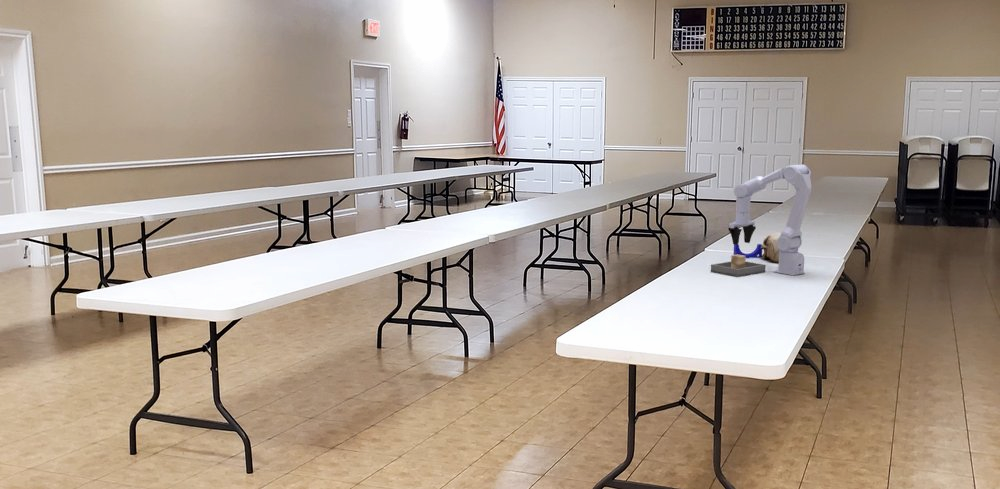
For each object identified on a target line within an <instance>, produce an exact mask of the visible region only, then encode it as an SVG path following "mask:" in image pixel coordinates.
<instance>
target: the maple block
mask: <svg viewBox="0 0 1000 489" xmlns="http://www.w3.org/2000/svg"><path fill="white" fill-rule="evenodd" d="M730 257H731V258H730V261H731V268H734V269H741V268H745V261H746V259H747V258H746V256H744V255H738V254H737V255H734V254H732V255H731V256H730Z"/></svg>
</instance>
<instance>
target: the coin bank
mask: <svg viewBox="0 0 1000 489" xmlns="http://www.w3.org/2000/svg"><path fill="white" fill-rule="evenodd" d="M780 235H781V232H772V233H770V234H769V235H767V236H766V237H765V238H764V239H763V242H762V243H761V244H762V246H761V249H762V251H763V253H762V258H761V259H762V260H770V261H772V263H776V264H779V249H778V247H777V244H776V242H777V239H778V238H779V237H780Z"/></svg>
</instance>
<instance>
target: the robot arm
mask: <svg viewBox="0 0 1000 489" xmlns="http://www.w3.org/2000/svg"><path fill="white" fill-rule="evenodd" d="M811 174H812V173H811V170H810V169H809V168H808V166H807V165H805V164H804V163H803V164H802V163H800V164H790V165H787V166H784V167H781V168H779V169H777V170H774V171H773V172H771V173H768V174H767V175H765V176H761V175H755V176H753V178H752V179H750V180H745V181H744V183H738V184H736V185H735V187H734V189H733V193H734V195H735V197H736V200H735V201H736V202H735V220H734V221H733V222H730V223H729V227H727V228H728V232H729V233H730V236H731V239H732V244H733V245H734V244H735V245H739V242H740V235H741V233H742V231H743V241H744V243H746V244H750V242H751V240H752V236H753V234H754V232H755V230H756V227H757V226H756V221H755V220H750V215H751V212H750V211H751V200H752V196H753V195H754V194H756V193H758V192H760V191H762V190H765V189H766V188H767V185H768V184H771V183H774V182H777V181H779V180H781V179H782V180H783V179H785V180H786V181H787V182H788V183H790V184H791V185H792V186H793V188H794V189H795V194H794V198H793V201H792V205H791V208H790V212H789V214H788V218H787V221H786V226H785V227H784V229H783V230H782V231H780V233H781V235H780V237H779V238H778V239H777V242H776V244H777V247H778V249H779V263H778V267H777V268H778V269H777V270H776V269H775V270H773V273H778V274H784V275H788V276H789V275H790V276H796V275H802V274H806V273H805V256H804V254H803V253H801V252H799V248H800V247H801V246H802V235H803V233H802V231H801V227H802V223H803V220H804V216H805V213H806V211H807V210H806V209H807V206H808V203H809V199H810V196H811V192H812V187H813V186H812V181H811Z"/></svg>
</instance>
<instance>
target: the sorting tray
mask: <svg viewBox="0 0 1000 489" xmlns="http://www.w3.org/2000/svg"><path fill="white" fill-rule="evenodd" d="M766 268H767V267H766V264H763V263H756V262H751V261H746V260H745V268H741V269H734V268H731V260H730V261H726V262H720V263H714V264H713V263H712V264H711V265H710V272H711V273H715V274H720V275H726V276H731V277H736V278H739V277H740V278H741V277H745V276H750V275H751V274H752V275H757V274H761V273H765V272H766Z"/></svg>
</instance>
